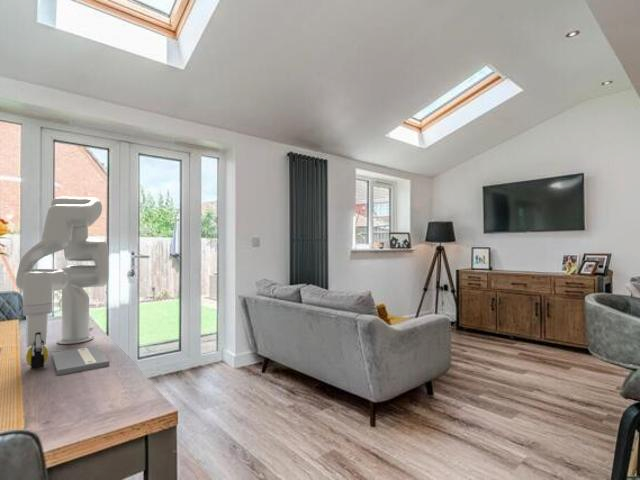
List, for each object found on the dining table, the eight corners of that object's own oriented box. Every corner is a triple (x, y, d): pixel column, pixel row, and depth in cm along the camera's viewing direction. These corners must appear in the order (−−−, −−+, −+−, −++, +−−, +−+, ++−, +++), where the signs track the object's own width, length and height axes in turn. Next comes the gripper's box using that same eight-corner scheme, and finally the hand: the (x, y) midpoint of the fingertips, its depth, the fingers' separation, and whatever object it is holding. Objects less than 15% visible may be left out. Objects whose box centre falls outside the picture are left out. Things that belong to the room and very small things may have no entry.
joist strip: (77, 349, 134) (77, 349, 134) (86, 348, 136) (86, 347, 136) (85, 364, 117) (85, 363, 117) (96, 362, 119) (96, 361, 119)
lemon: (51, 366, 119) (51, 342, 119) (32, 372, 114) (32, 346, 114) (41, 364, 121) (41, 340, 122) (22, 369, 116) (22, 344, 117)
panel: (51, 356, 130) (51, 352, 130) (97, 349, 139) (97, 345, 139) (57, 375, 111) (57, 370, 111) (109, 365, 120) (109, 361, 120)
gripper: (22, 307, 122) (21, 361, 122) (23, 314, 109) (22, 375, 109) (50, 304, 127) (49, 356, 127) (54, 311, 114) (53, 369, 114)
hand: (37, 364), depth 118 cm, fingers closed on lemon, 5 cm apart
